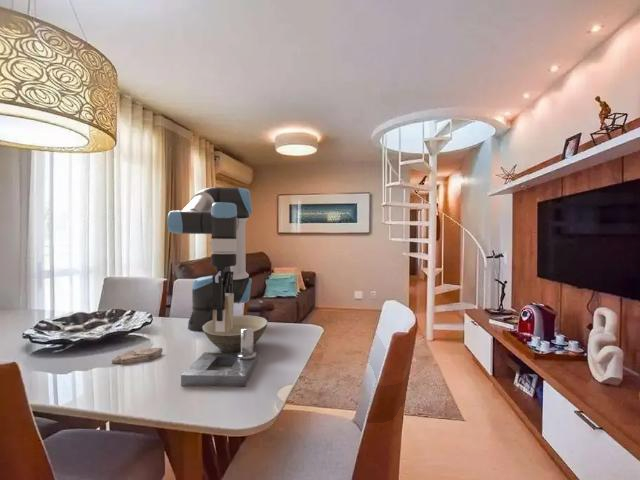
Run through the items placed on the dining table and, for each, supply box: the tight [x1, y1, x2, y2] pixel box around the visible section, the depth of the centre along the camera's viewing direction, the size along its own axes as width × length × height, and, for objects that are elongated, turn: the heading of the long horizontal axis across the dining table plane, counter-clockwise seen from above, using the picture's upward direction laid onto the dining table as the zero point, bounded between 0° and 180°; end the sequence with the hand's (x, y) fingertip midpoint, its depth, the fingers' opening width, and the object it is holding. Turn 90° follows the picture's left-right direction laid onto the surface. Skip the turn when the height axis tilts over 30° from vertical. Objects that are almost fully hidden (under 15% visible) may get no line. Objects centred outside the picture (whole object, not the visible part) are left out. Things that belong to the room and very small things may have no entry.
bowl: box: [202, 314, 268, 353], centre depth 122 cm, size 24×24×10 cm
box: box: [212, 293, 235, 332], centre depth 100 cm, size 5×4×11 cm
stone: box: [111, 347, 163, 365], centre depth 111 cm, size 12×12×3 cm
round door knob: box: [237, 327, 257, 360], centre depth 106 cm, size 6×6×12 cm
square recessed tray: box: [180, 351, 259, 388], centre depth 100 cm, size 18×18×3 cm
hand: (223, 328), depth 100 cm, fingers closed on box, 5 cm apart
